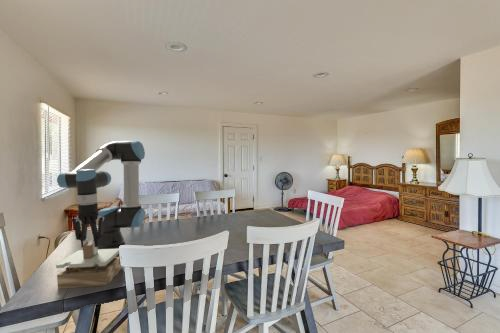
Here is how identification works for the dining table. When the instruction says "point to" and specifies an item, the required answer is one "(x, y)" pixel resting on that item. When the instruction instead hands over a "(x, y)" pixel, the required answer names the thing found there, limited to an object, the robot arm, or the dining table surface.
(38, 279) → the dining table surface
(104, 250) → the white box lid
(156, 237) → the dining table surface
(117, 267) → the shallow wooden tray
